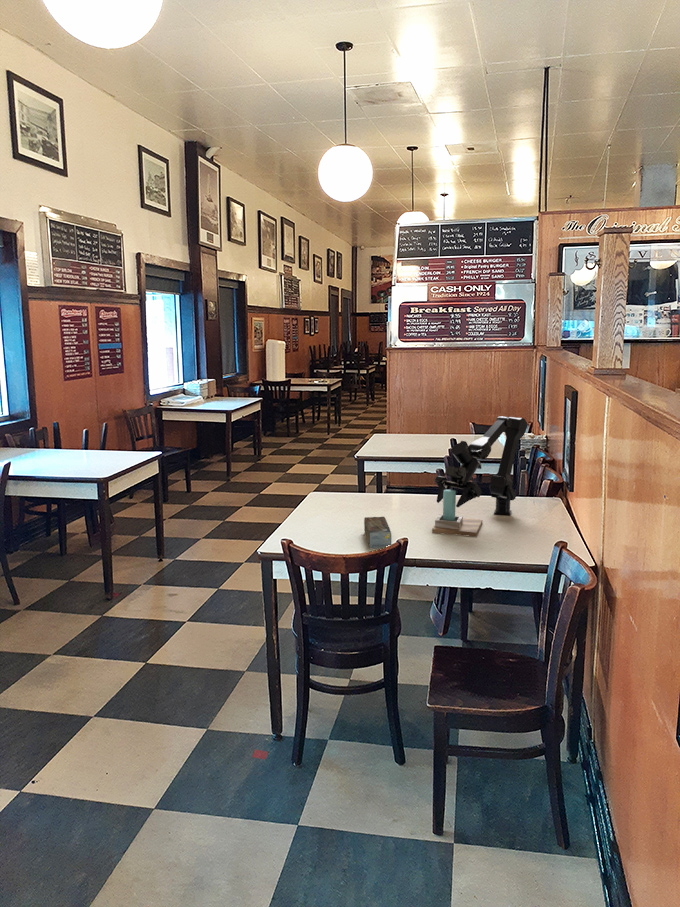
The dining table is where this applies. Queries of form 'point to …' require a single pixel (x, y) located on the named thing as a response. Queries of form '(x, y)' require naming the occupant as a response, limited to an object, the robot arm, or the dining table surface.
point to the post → (449, 505)
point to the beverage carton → (377, 532)
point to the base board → (457, 526)
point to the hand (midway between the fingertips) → (447, 504)
